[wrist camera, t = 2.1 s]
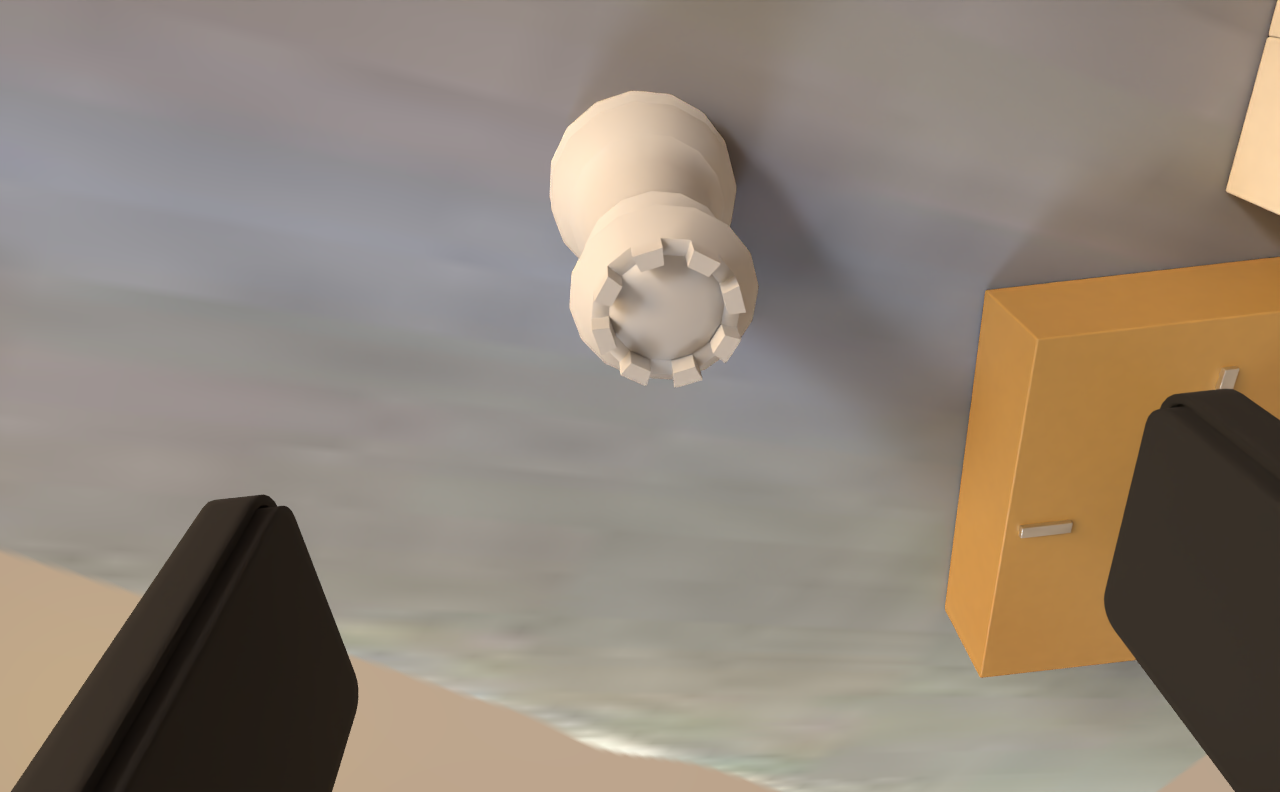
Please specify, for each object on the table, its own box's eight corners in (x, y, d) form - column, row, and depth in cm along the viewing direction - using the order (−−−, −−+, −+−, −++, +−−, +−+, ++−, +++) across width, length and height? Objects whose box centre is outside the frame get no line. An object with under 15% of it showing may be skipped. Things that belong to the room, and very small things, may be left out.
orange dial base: (984, 289, 22) (1040, 341, 20) (1350, 247, 22) (1457, 294, 20) (944, 608, 28) (981, 682, 26) (1231, 576, 28) (1299, 646, 26)
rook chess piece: (768, 167, 20) (862, 299, 13) (652, 298, 22) (682, 477, 15) (627, 43, 19) (651, 122, 12) (512, 195, 20) (475, 343, 13)
